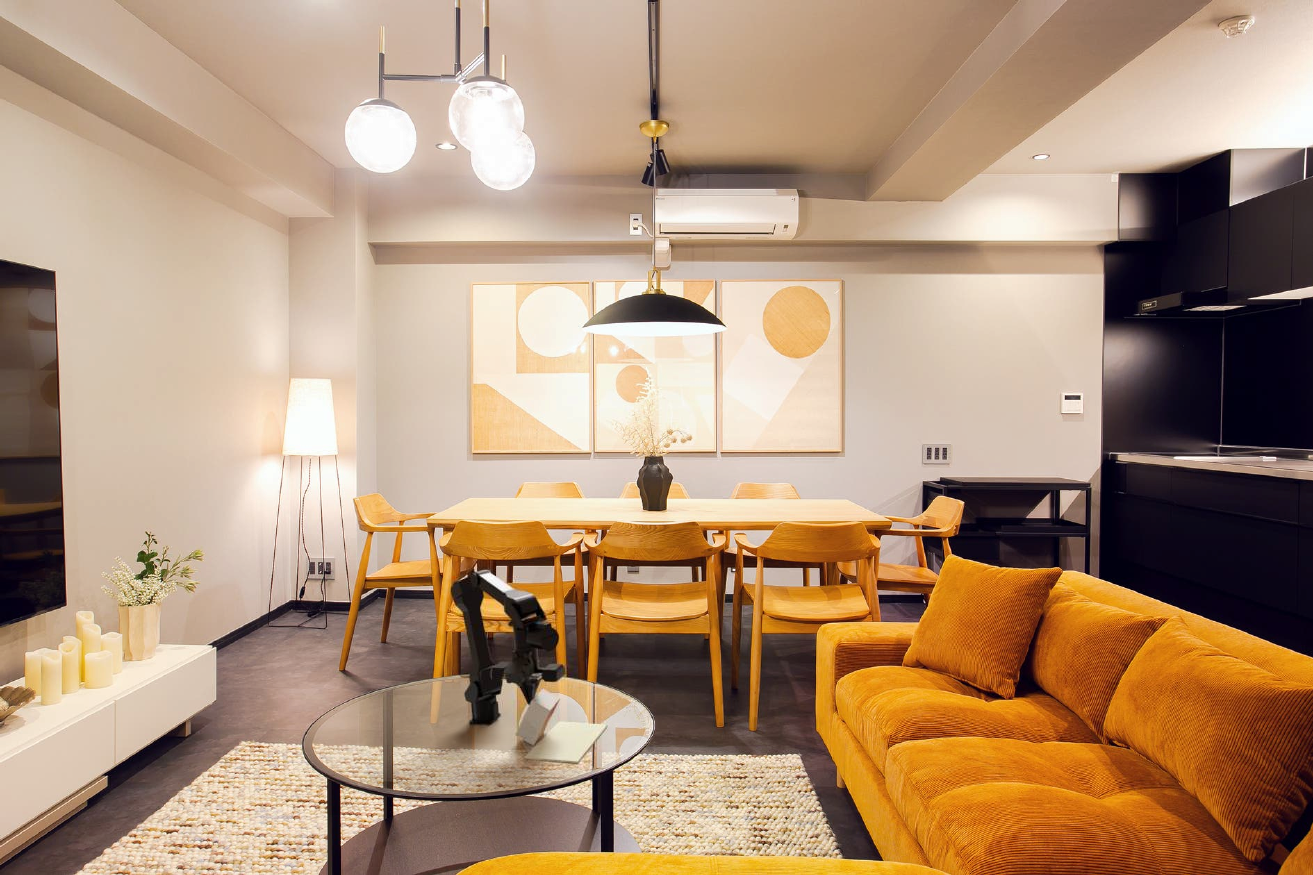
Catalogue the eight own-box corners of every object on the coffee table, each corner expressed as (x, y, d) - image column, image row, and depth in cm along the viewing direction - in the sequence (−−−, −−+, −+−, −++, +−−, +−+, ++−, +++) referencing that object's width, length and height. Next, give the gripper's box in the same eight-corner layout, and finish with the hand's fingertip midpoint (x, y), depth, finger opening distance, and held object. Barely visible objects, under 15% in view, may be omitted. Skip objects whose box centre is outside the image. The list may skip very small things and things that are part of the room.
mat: (524, 758, 173) (524, 756, 173) (559, 722, 193) (559, 721, 193) (577, 763, 169) (577, 761, 169) (607, 726, 189) (607, 724, 189)
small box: (533, 746, 180) (550, 711, 178) (514, 735, 181) (531, 699, 179) (544, 732, 188) (560, 698, 186) (526, 721, 188) (542, 687, 187)
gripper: (477, 654, 178) (482, 715, 178) (544, 656, 173) (549, 719, 173) (499, 639, 189) (504, 697, 189) (564, 641, 183) (568, 701, 184)
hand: (530, 704), depth 183 cm, fingers closed
